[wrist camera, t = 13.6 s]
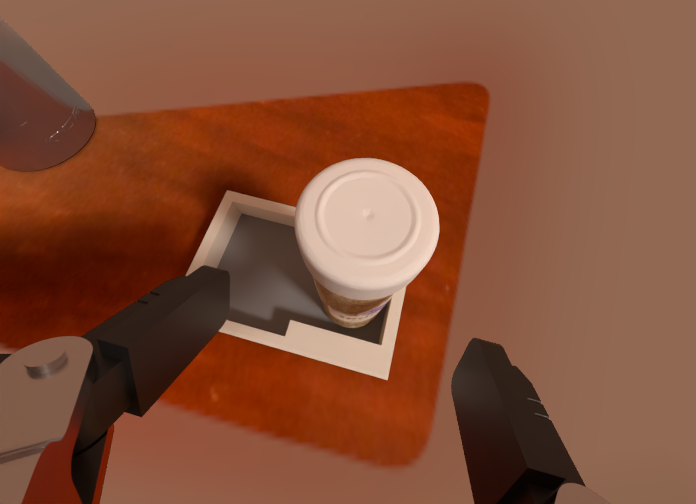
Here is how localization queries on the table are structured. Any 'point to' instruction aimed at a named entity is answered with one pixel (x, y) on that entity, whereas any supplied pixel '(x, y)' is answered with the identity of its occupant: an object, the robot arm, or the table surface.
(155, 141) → the table surface
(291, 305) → the shallow tray
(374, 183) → the sprinkles bottle
